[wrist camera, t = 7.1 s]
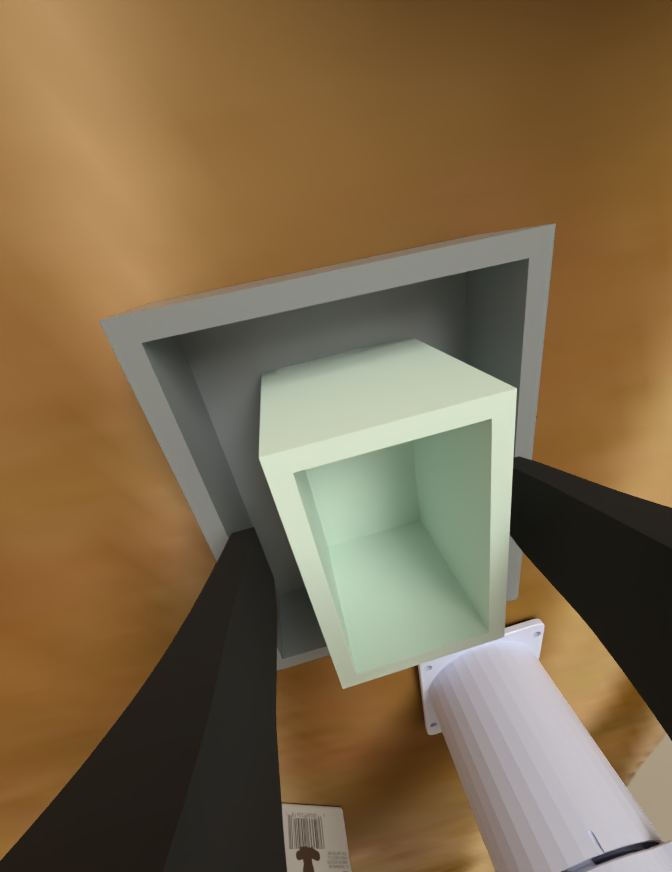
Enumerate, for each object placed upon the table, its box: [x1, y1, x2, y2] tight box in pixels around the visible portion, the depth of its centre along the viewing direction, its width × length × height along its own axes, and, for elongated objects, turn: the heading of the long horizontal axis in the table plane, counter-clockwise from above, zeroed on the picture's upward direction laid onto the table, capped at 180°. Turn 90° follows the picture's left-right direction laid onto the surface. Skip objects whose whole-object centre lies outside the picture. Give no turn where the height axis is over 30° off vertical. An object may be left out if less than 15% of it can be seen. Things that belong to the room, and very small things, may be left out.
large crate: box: [99, 223, 556, 671], centre depth 12 cm, size 13×10×4 cm
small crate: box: [259, 336, 517, 689], centre depth 11 cm, size 8×5×6 cm, turn 12°
